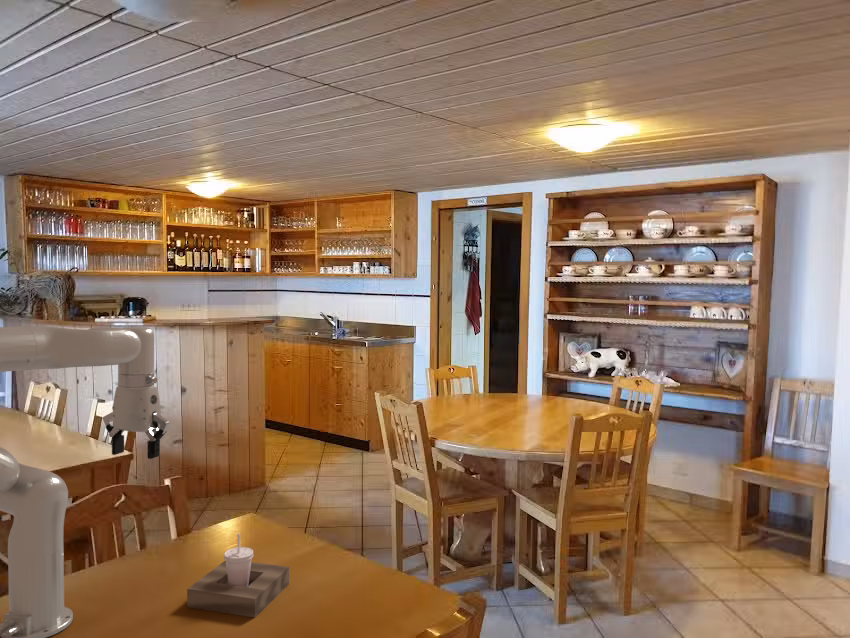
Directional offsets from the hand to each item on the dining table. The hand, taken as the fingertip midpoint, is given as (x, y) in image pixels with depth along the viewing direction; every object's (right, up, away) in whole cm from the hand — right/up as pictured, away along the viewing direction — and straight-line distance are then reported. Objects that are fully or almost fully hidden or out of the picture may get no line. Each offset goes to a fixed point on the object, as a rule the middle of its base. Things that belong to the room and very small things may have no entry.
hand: (135, 455), depth 149 cm
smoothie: (+25, -31, -4) cm, 39 cm away
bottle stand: (+25, -30, -4) cm, 40 cm away
